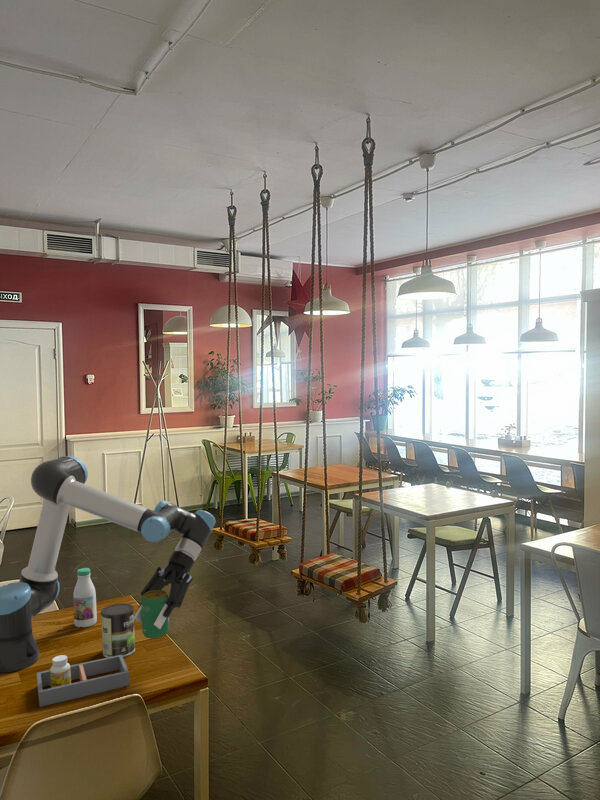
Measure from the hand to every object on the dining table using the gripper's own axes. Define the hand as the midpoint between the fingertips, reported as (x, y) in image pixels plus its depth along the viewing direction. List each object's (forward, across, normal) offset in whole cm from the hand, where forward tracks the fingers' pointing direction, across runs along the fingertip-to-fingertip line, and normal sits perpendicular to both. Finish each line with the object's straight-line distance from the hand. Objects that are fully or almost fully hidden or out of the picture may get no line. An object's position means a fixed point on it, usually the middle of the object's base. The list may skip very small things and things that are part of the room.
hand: (146, 623), depth 181 cm
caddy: (+21, +12, -2) cm, 24 cm away
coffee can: (+7, +21, -16) cm, 28 cm away
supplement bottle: (+25, +15, +2) cm, 29 cm away
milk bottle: (+1, +50, -22) cm, 54 cm away
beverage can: (+1, 0, -6) cm, 6 cm away
